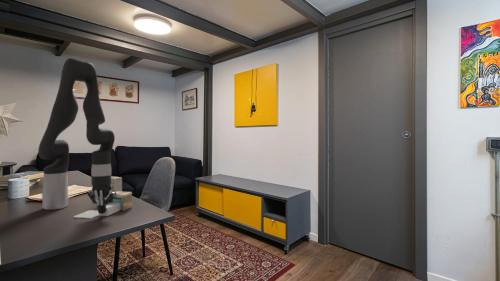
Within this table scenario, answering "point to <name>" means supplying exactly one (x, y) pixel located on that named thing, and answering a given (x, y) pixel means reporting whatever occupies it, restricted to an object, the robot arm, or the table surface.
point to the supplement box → (116, 184)
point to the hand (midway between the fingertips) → (102, 213)
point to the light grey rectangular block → (112, 208)
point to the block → (118, 200)
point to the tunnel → (124, 199)
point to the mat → (88, 214)
